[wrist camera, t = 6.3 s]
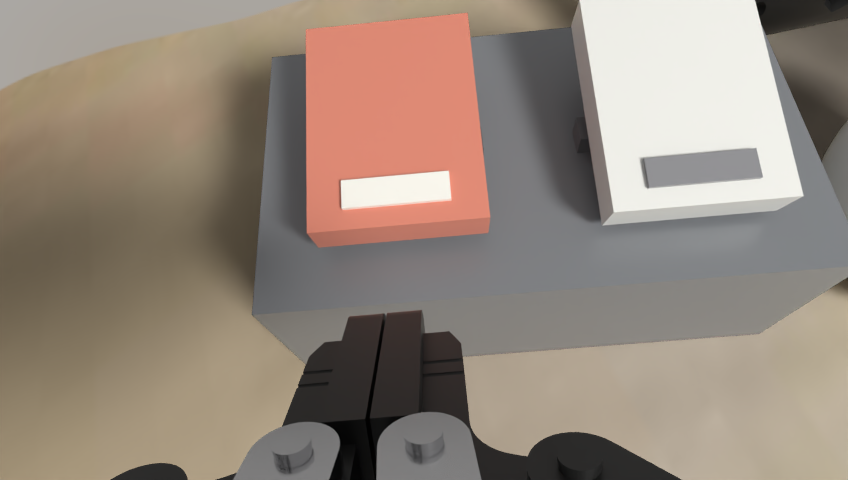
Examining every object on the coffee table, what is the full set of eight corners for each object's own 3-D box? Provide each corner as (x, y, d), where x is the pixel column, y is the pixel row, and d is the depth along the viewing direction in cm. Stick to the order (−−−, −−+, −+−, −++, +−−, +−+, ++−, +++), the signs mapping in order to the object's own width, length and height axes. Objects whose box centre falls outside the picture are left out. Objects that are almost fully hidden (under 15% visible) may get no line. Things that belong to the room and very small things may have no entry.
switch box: (310, 368, 27) (242, 306, 19) (316, 158, 32) (265, 42, 24) (759, 333, 26) (884, 253, 18) (690, 124, 32) (764, -9, 24)
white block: (602, 225, 20) (614, 211, 18) (571, 26, 22) (580, -4, 20) (776, 210, 20) (806, 194, 18) (729, 9, 22) (752, -22, 20)
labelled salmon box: (318, 247, 20) (305, 231, 18) (316, 56, 23) (304, 26, 21) (488, 233, 20) (490, 215, 18) (467, 40, 22) (467, 9, 21)
